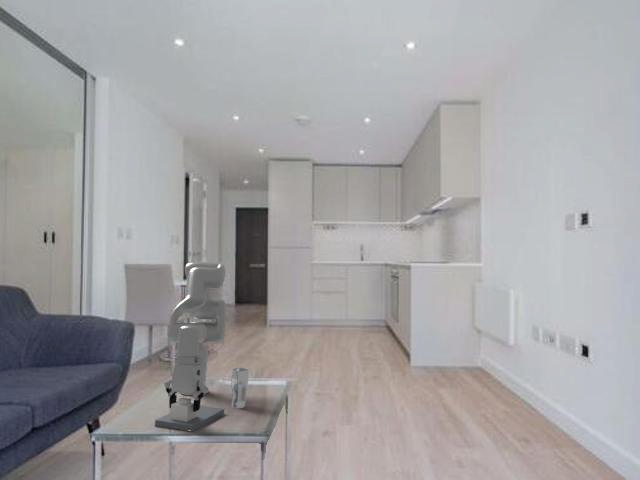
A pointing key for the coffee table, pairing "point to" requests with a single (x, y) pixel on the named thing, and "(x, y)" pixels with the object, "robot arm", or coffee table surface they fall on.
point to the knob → (183, 410)
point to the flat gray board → (203, 418)
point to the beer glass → (239, 387)
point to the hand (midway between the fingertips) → (184, 409)
